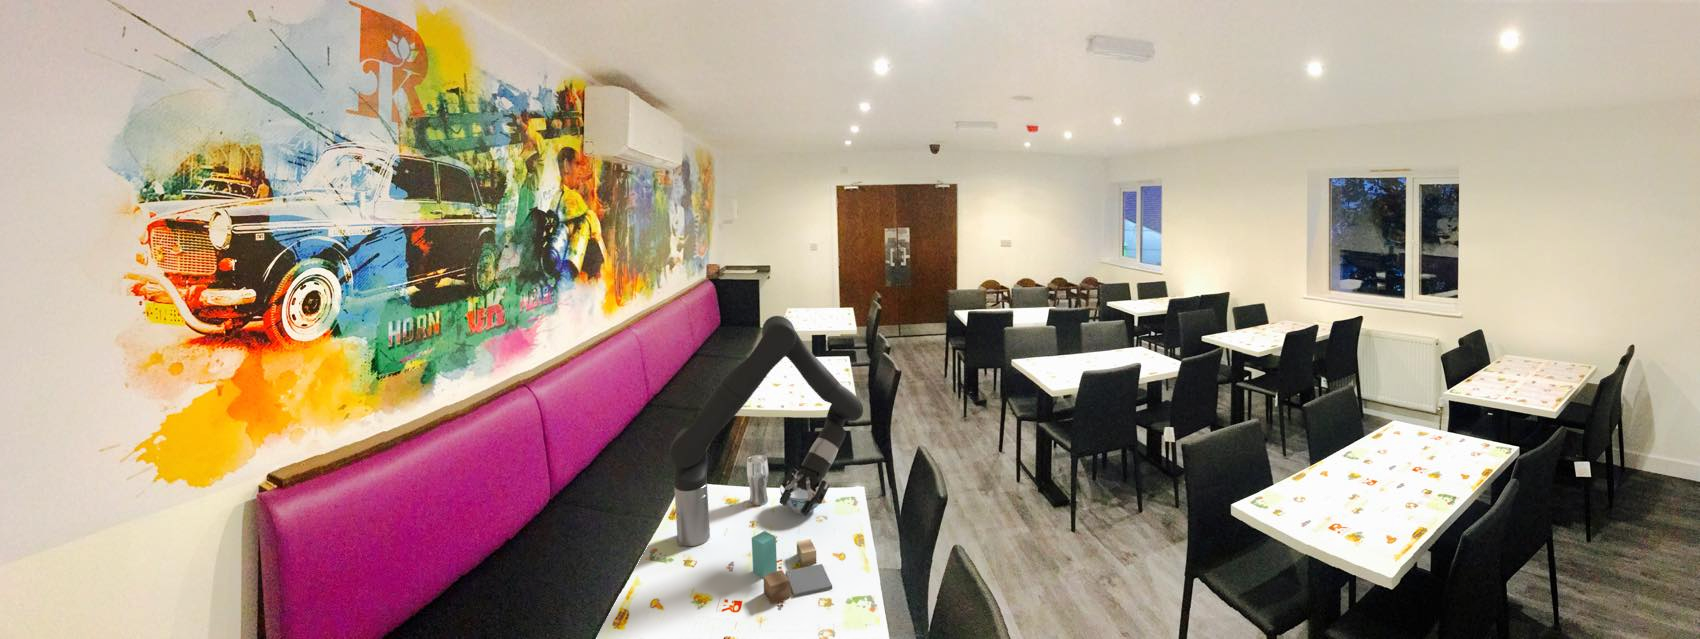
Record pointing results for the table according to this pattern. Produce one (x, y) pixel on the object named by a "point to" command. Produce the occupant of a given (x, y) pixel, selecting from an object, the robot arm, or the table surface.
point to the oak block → (806, 552)
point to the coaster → (808, 580)
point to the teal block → (764, 554)
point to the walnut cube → (776, 586)
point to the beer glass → (757, 479)
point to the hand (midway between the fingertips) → (792, 509)
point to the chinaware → (798, 499)
